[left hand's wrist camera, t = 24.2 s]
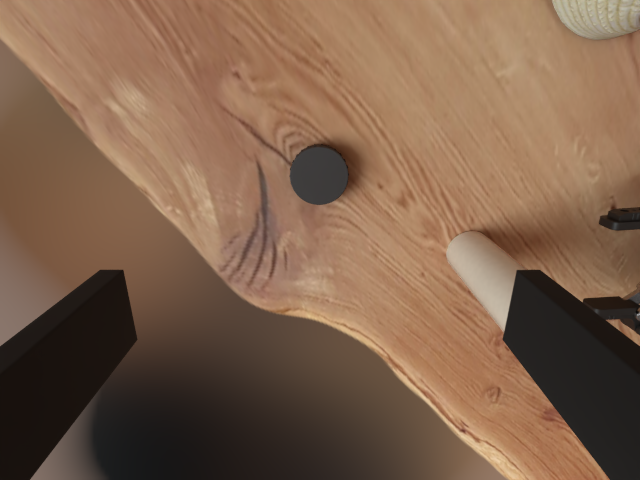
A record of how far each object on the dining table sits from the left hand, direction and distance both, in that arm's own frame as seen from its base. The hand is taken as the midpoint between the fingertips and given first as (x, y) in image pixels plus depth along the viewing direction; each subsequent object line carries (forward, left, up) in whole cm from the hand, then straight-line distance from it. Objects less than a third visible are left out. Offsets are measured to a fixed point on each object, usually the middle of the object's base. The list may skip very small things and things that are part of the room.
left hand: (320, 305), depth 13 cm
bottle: (-3, +18, -27) cm, 33 cm away
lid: (0, 0, -25) cm, 25 cm away
